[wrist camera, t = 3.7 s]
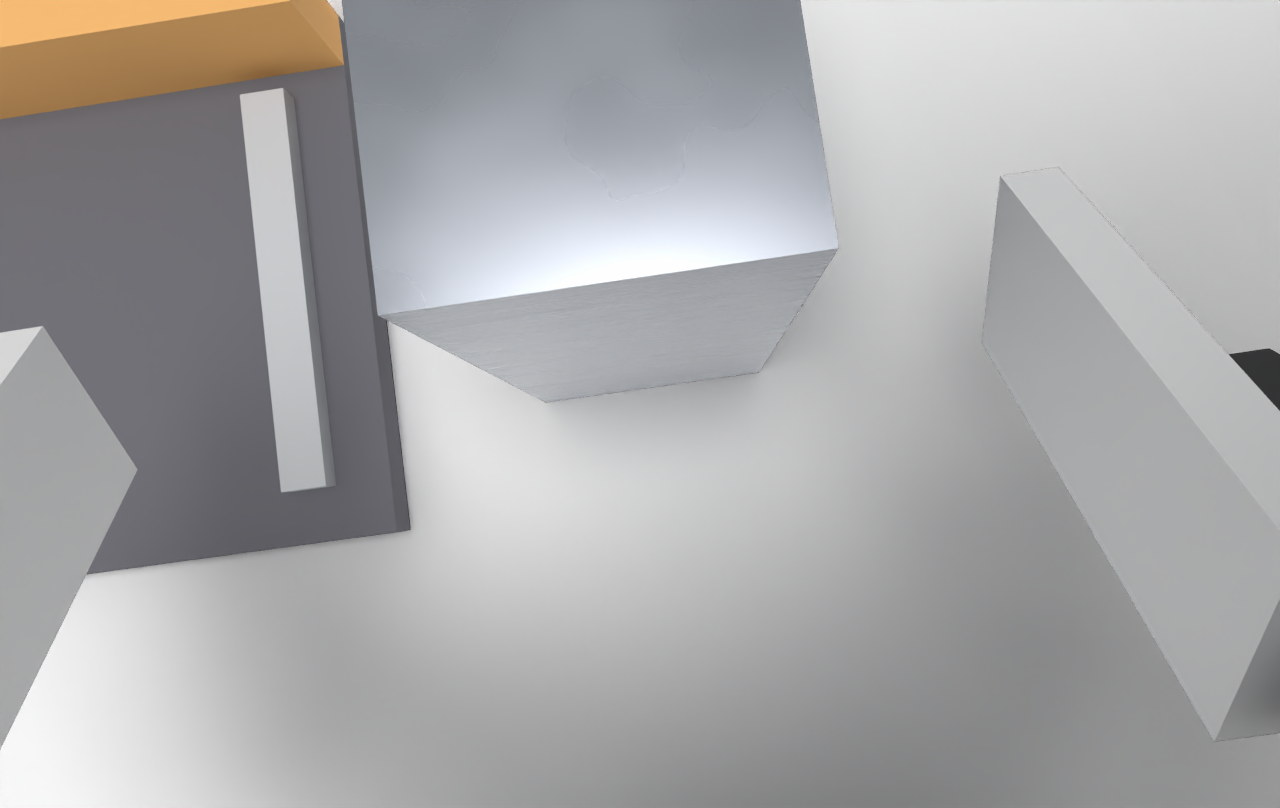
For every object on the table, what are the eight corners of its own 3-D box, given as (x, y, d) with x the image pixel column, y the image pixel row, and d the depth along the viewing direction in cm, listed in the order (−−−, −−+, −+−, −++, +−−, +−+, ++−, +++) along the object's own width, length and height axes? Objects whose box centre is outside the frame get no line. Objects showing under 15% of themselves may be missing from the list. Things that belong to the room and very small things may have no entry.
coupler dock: (353, 35, 23) (283, -57, 19) (410, 529, 22) (348, 541, 18) (-120, 110, 24) (-283, 36, 20) (-86, 596, 23) (-250, 622, 19)
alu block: (714, 71, 23) (740, -381, 11) (759, 372, 22) (839, 248, 10) (507, 103, 23) (307, -305, 11) (545, 402, 22) (377, 315, 10)
